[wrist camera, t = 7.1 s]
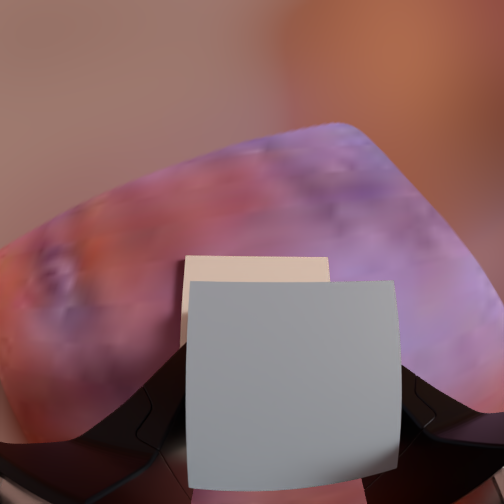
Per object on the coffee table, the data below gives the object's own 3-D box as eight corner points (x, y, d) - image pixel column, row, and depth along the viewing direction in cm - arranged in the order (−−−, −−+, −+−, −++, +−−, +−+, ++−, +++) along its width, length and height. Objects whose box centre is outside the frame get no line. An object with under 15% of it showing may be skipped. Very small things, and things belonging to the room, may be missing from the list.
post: (297, 404, 14) (396, 468, 4) (225, 405, 14) (188, 487, 3) (297, 336, 15) (393, 280, 5) (226, 336, 15) (190, 280, 5)
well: (329, 462, 17) (342, 476, 14) (182, 465, 17) (173, 479, 14) (325, 260, 24) (336, 245, 21) (187, 259, 24) (179, 242, 21)
